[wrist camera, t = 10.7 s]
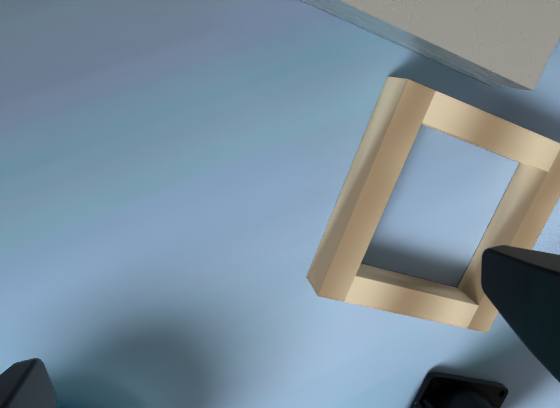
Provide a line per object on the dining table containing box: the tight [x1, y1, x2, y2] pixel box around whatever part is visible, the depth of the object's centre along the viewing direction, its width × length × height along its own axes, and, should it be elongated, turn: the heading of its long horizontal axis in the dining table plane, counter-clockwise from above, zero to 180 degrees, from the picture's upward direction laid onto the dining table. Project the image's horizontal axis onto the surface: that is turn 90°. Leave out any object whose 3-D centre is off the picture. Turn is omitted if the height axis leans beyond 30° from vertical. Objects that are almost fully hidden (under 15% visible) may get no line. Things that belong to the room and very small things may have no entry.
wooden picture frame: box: [307, 76, 560, 333], centre depth 24 cm, size 11×11×2 cm
